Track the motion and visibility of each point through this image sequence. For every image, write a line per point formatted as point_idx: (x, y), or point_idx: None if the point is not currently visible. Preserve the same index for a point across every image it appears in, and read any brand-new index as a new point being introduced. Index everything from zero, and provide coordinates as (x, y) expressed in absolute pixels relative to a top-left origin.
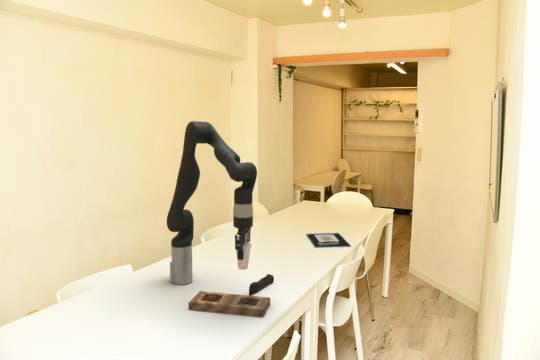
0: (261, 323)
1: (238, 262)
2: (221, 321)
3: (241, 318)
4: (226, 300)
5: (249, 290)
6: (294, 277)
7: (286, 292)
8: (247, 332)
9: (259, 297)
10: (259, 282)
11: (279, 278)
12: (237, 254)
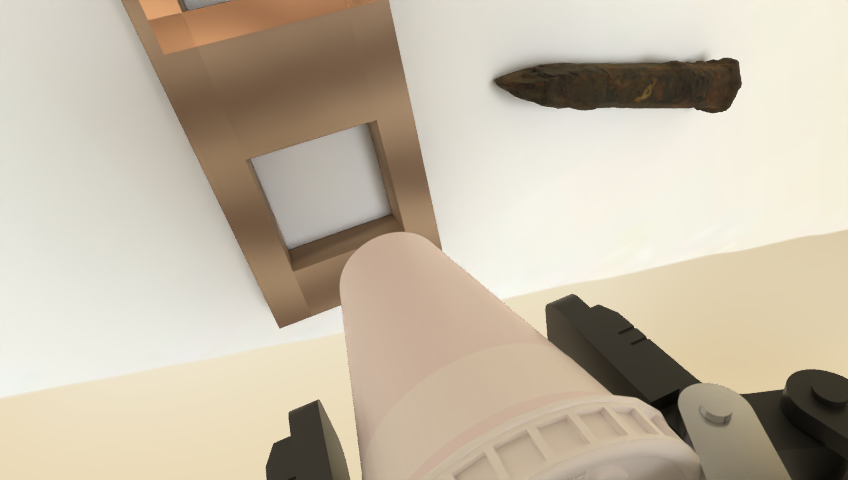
0: (209, 335)
1: (351, 317)
2: (54, 145)
3: (189, 223)
4: (266, 53)
5: (512, 87)
6: (758, 163)
7: (588, 227)
8: (62, 347)
9: (421, 218)
10: (619, 96)
11: (744, 103)
12: (297, 476)
